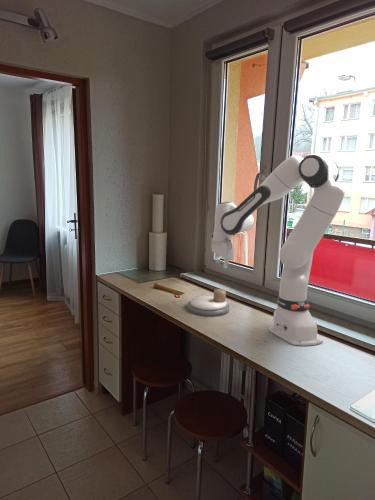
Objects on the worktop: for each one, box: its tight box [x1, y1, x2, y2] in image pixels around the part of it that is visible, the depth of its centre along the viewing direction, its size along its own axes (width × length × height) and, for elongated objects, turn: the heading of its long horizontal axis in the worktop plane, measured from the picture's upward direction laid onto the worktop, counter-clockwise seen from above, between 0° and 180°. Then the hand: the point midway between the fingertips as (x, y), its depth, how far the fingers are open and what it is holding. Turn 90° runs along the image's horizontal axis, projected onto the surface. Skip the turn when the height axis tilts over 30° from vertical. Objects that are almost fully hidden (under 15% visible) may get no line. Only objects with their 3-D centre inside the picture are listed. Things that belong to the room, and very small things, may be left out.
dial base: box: [187, 300, 230, 317], centre depth 177 cm, size 20×20×2 cm
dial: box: [190, 288, 227, 311], centre depth 176 cm, size 17×17×6 cm
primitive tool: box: [152, 282, 186, 296], centre depth 202 cm, size 19×6×4 cm, turn 60°
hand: (221, 265), depth 174 cm, fingers open, 8 cm apart
